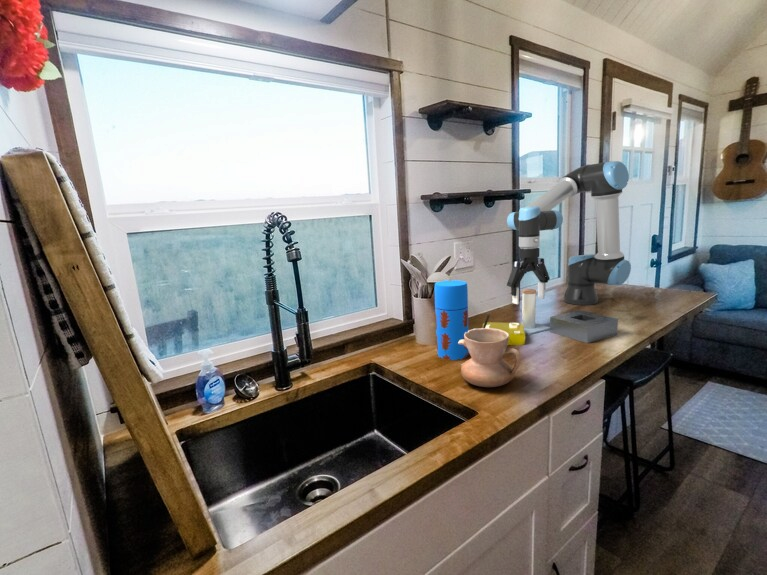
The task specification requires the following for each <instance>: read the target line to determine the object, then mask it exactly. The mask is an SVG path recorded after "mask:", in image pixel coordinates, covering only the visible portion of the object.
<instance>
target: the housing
mask: <svg viewBox="0 0 767 575" xmlns="http://www.w3.org/2000/svg"><path fill="white" fill-rule="evenodd" d="M618 323H619V319H618V318H616V317H611V316H606V315H602V314H597V313H594V312H589V311H584V310H580V309H579V310H575V311H574V310H573V311H569V312H564V313H561V314H557V315H553V316H550V317H549V327H550V330H549V332H550V333H552V334H555V335H559V336H562V337H566V338H568V339H571V340H574V341H577V342H582V343H584V344H590V343H593V342H597V341H600V340H603V338H604V339H606V337H607V338H610V336H611V337H614V336H617V335H618V328H619V327H618V325H619V324H618ZM613 335H614V336H613Z"/></svg>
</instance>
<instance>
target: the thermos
mask: <svg viewBox="0 0 767 575" xmlns="http://www.w3.org/2000/svg"><path fill="white" fill-rule="evenodd" d="M450 280H451V279H450ZM468 289H469V288H468V282H467V281H464V280H459V279H457V280H455V279H454V280H453V279H452V280H451V281H448V280H441V282H440V281H437V282H434V310H435V315H434V316H435V334H436V335H435V336H436V337H435V338H436V341H435V342H436V352H437V356H438V357H439V358H440V357H441V359H443V358H444V359H443V360H446V359H449V360H448V361H459V360H458V359H460V360H463V358H464V359H466V358H467V357H468V356H469V351H468V348H466V347H465V346H464V345H460V344H458V342H459V340H463V339H464V334H465V332H468V331H469V306H468V305H469V295H468V292H469V291H468ZM464 340H465V339H464Z"/></svg>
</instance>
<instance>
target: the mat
mask: <svg viewBox="0 0 767 575" xmlns="http://www.w3.org/2000/svg"><path fill="white" fill-rule="evenodd" d="M520 323H521V324H522V321H521V322H520ZM524 331H525V335H528V336H531V335H534V334H538V333H541V332H545V331H550V326H547V325H544V324H541V323H537V322H535V328H532V329H527V328H524Z"/></svg>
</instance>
